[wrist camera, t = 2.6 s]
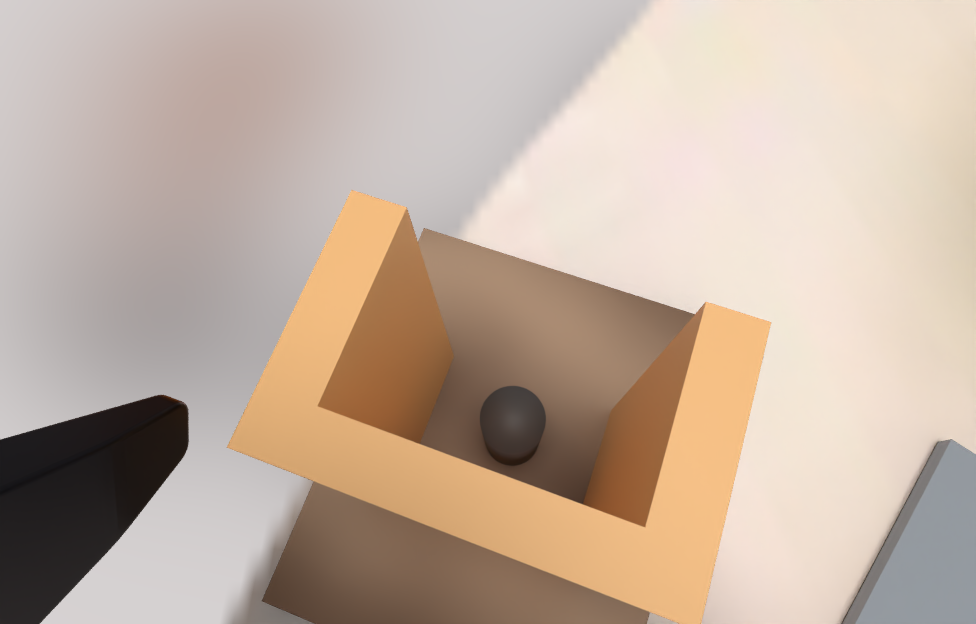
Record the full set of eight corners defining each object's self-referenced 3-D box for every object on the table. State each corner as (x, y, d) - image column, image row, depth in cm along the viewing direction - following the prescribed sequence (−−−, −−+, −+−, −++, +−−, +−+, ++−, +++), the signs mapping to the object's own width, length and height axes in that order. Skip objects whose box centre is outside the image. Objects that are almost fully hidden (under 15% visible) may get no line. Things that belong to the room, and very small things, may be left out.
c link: (599, 577, 17) (699, 630, 8) (365, 487, 18) (227, 447, 9) (643, 421, 19) (771, 322, 10) (423, 345, 20) (351, 189, 11)
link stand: (610, 742, 16) (641, 808, 13) (269, 598, 18) (203, 617, 14) (717, 329, 20) (767, 281, 16) (426, 236, 21) (407, 171, 18)
